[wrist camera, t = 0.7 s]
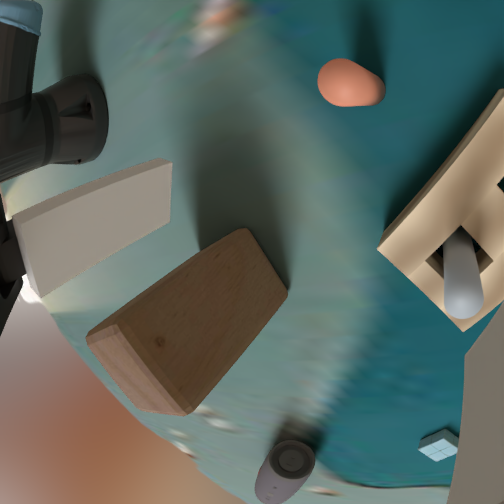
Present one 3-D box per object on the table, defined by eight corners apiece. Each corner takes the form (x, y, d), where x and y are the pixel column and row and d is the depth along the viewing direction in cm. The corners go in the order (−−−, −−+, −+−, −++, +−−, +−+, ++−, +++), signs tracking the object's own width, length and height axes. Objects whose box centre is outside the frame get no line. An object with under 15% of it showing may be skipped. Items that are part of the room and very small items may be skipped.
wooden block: (248, 221, 37) (111, 321, 21) (293, 294, 38) (190, 421, 23) (197, 252, 43) (79, 338, 28) (237, 313, 44) (139, 414, 29)
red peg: (346, 92, 25) (309, 88, 18) (363, 66, 23) (333, 49, 16) (373, 112, 25) (349, 116, 17) (392, 86, 23) (376, 77, 15)
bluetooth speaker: (282, 426, 53) (255, 467, 45) (327, 446, 49) (304, 490, 41) (265, 465, 65) (244, 496, 57) (299, 480, 61) (280, 513, 54)
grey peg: (436, 241, 27) (435, 300, 19) (457, 220, 25) (466, 273, 17) (456, 262, 26) (460, 325, 19) (477, 241, 24) (491, 301, 17)
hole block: (383, 231, 29) (376, 249, 26) (498, 89, 18) (510, 87, 15) (462, 308, 28) (463, 332, 25) (579, 188, 16) (596, 201, 13)
